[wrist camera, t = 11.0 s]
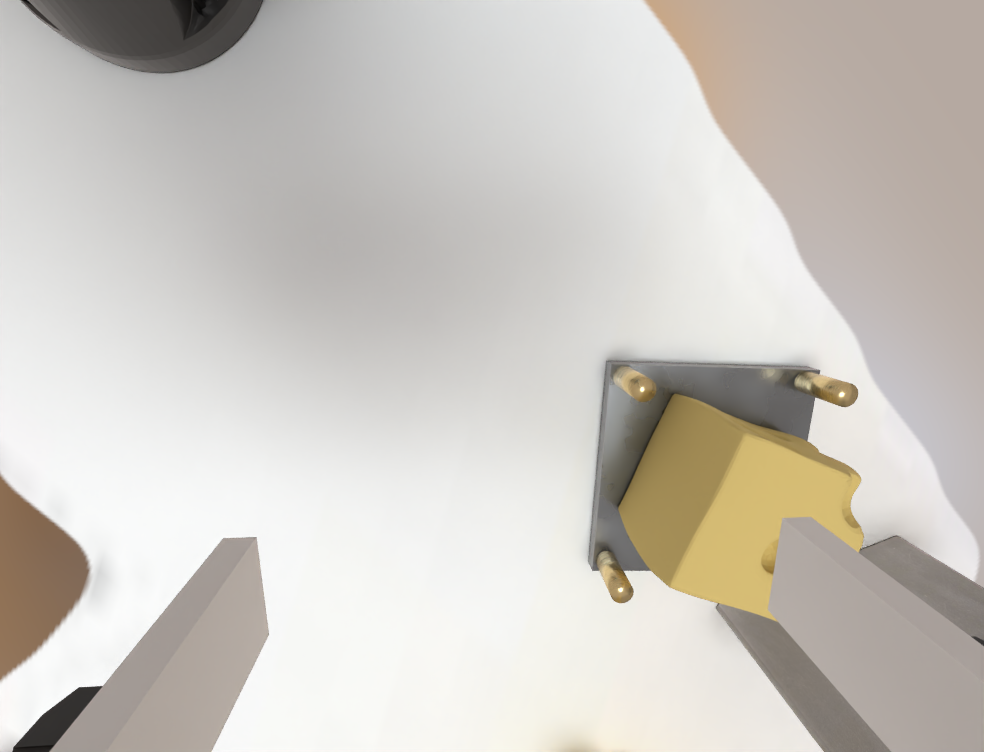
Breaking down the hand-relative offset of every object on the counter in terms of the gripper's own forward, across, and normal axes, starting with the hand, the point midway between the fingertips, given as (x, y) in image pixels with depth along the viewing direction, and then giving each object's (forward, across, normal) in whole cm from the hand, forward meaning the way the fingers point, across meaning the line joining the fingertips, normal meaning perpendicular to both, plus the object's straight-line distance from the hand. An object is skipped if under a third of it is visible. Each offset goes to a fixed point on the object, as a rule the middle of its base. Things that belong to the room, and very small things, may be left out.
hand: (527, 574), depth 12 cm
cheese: (+23, +16, -8) cm, 29 cm away
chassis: (+24, +17, -8) cm, 30 cm away
